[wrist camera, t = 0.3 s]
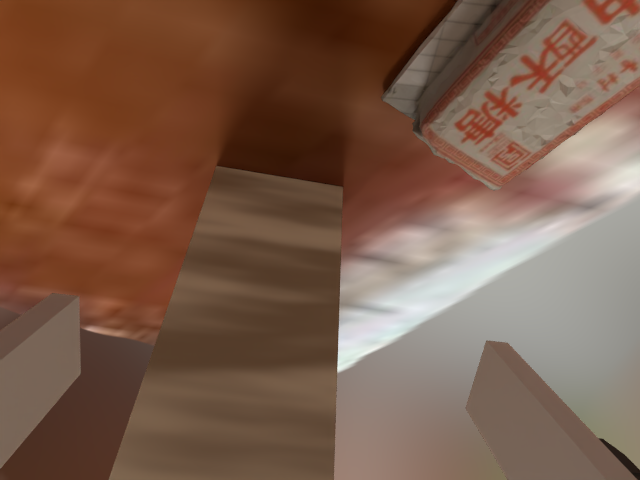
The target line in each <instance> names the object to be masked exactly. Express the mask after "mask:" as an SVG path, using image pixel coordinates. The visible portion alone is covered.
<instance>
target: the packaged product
mask: <svg viewBox="0 0 640 480" xmlns="http://www.w3.org/2000/svg"><path fill="white" fill-rule="evenodd" d="M638 86H640V0H458V1H457V2H456V4H455V5H454V7H453V8H452V9H451V11H450V12H449V13H448V14H447V15H446V17H445V18H444V19H443V20H442V21H441V22H440V23H439V25H438V26H437V27H436V28H435V29H434V30H433V32H432V33H431V34H430V35H429V36H428V37H427V38H426V40H425V41H424V42H423V43H422V44H421V46H420V47H419V48H418V50H417V51H416V52H415V53H414V55H413V56H412V57H411V59H410V60H409V61H408V63H407V64H406V65H405V67H404V68H403V69H402V70H401V72H400V73H399V74H398V76H397V77H396V78H395V80H394V81H393V83H392V84H391V85H390V87H389V88H388V90H387V91H386V92H385V93H384V94H383V95H382V97H381V99H382V100H383V101H384V102H387V103H388V104H390V105H391V106H393V107H394V108H396V109H397V110H399V111H400V112H402V113H403V114H405V115H407V116H408V117H410V118H412V119H414V120H415V121H414V122H413V123H412V124H413V132H414V134H415V135H416V136H417V137H418V138H419V139H420V140H422V141H424V142H425V143H426V144H427V145H428V146H429V147H430V149H431V151H432V152H433V154H434V155H436V156H439V157H441V158H445V159H446V160H447V161H448V162H449V163H454V164H457V165H458V166H460V167H461V168H462V169H463V170H464V171H465V172H466V173H467V174H469V175H470V176H472V177H473V179H476V180H480V181H481V182H483V183H484V184H485V185H486V186H487V187H488V188H489V189H491V190H498V189H500V188H501V187H502V186H503V185H504V184H506V183H508V182H509V181H510V180H511V179H513V178H514V177H516V176H517V175H519V174H520V173H522V172H523V171H525V170H527V169H528V168H529V167H530V166H531V165H533V164H534V163H535V162H537V161H538V160H540V159H542V158H544V156H545V155H547V154H548V153H550V152H551V151H552V150H553V149H555V148H556V147H557V146H558V145H560V144H561V143H562V142H564V141H565V140H566V139H568V138H569V137H571V136H572V135H575V134H576V133H577V132H578V131H580V130H581V129H582V128H583V127H584V126H585V125H587V124H588V123H589V122H591V121H592V120H594V119H595V118H597V117H598V116H600V115H602V114H603V113H604V112H605V111H606V110H607V109H609V108H610V107H612V106H613V105H615V104H616V103H617V102H619V101H620V100H622V99H623V98H624V97H626V96H627V95H629V94H630V93H631V92H632V91H634V90H635V89H636V88H637V87H638Z"/></svg>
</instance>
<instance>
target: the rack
mask: <svg viewBox="0 0 640 480" xmlns="http://www.w3.org/2000/svg"><path fill="white" fill-rule="evenodd" d="M342 203H343V187H341V186H335V185H329V184H323V183H317V182H311V181H305V180H299V179H293V178H286V177H280V176H274V175H268V174H262V173H256V172H250V171H244V170H238V169H232V168H226V167H220V166H216V168H215V171H214V174H213V177H212V180H211V183H210V186H209V189H208V192H207V195H206V198H205V201H204V203H203V206H202V209H201V212H200V215H199V218H198V221H197V224H196V227H195V230H194V233H193V236H192V238H191V241H190V244H189V247H188V250H187V253H186V256H185V259H184V262H183V265H182V268H181V271H180V273H179V276H178V279H177V282H176V285H175V288H174V291H173V294H172V297H171V300H170V303H169V306H168V308H167V311H166V314H165V317H164V320H163V323H162V326H161V329H160V332H159V335H158V338H157V341H156V343H155V346H154V349H153V352H152V355H151V358H150V361H149V364H148V367H147V370H146V373H145V376H144V379H143V382H142V385H141V388H140V390H139V393H138V396H137V399H136V402H135V405H134V408H133V411H132V414H131V416H130V419H129V422H128V425H127V428H126V431H125V434H124V437H123V440H122V443H121V446H120V449H119V451H118V454H117V458H116V460H115V463H114V466H113V469H112V472H111V475H110V478H109V480H334V454H335V453H334V452H335V423H336V391H337V360H338V329H339V297H340V266H341V234H342Z"/></svg>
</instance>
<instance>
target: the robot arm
mask: <svg viewBox="0 0 640 480" xmlns="http://www.w3.org/2000/svg"><path fill="white" fill-rule="evenodd" d="M80 374H81V367H80V318H79V296H74V295H65V294H55V293H52V294H51V295H49V296H48V297H46V298H45V299H44V300H42V301H41V302H39V303H38V304H37V305H35V306H34V307H33V308H31V309H30V310H28V311H27V312H26V313H24V314H23V315H21V316H20V317H19V318H17V319H16V320H14V321H13V322H12V323H10V324H9V325H7V326H6V327H5V328H3V329H2V330H0V468H1V467H2V466H3V465H4V463H5V462H6V461H7V460H8V459H9V458H10V456H11V455H12V454H13V453H14V452H15V451H16V449H17V448H18V447H19V446H20V445H21V443H22V442H23V441H24V440H25V439H26V437H27V436H28V435H29V434H30V433H31V432H32V430H33V429H34V428H35V427H36V426H37V424H38V423H39V422H40V421H41V420H42V419H43V417H44V416H45V415H46V414H47V413H48V411H49V410H50V409H51V408H52V407H53V406H54V404H55V403H56V402H57V401H58V400H59V398H60V397H61V396H62V395H63V394H64V392H65V391H66V390H67V389H68V388H69V387H70V385H71V384H72V383H73V382H74V381H75V379H76V378H77V377H78V376H79V375H80ZM466 410H467V411H468V413H469V415H470V417H471V418H472V420H473V422H474V424H475V425H476V427H477V428H478V430H479V432H480V434H481V435H482V437H483V439H484V440H485V442H486V444H487V446H488V447H489V449H490V451H491V452H492V454H493V456H494V457H495V459H496V461H497V462H498V464H499V466H500V468H501V469H502V471H503V473H504V474H505V476H506V478H507V480H640V470H639V469H638V468H637V467H636V466H635V465H634V464H633V463H632V462H631V461H630V460H629V459H628V458H627V457H626V456H625V455H624V454H623V453H621V452H620V451H619V450H617V449H616V448H615V447H613V446H612V445H610V444H609V443H608V442H606V441H605V440H604V439H599V438H597V437H596V436H595V435H594V434H593V432H592V431H591V430H590V429H589V428H588V427H587V426H586V425H585V424H584V423H583V422H582V421H581V420H580V419H579V418H578V417H577V416H576V414H575V413H574V412H573V411H572V410H571V409H570V408H569V407H568V406H567V405H566V404H565V403H564V402H563V401H562V400H561V399H560V398H559V397H558V396H557V394H556V393H555V392H554V391H553V390H552V389H551V388H550V387H549V386H548V385H547V384H546V383H545V382H544V381H543V380H542V379H541V378H540V377H539V375H538V374H537V373H536V372H535V371H534V370H533V369H532V368H531V367H530V366H529V365H528V364H527V363H526V362H525V361H524V360H523V359H522V358H521V357H520V355H519V354H518V353H517V352H516V351H515V350H514V349H513V348H512V347H511V346H510V345H509V344H508V343H504V342H495V341H486V343H485V347H484V350H483V353H482V356H481V359H480V363H479V366H478V369H477V372H476V376H475V379H474V382H473V385H472V389H471V392H470V396H469V398H468V402H467V405H466Z"/></svg>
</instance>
